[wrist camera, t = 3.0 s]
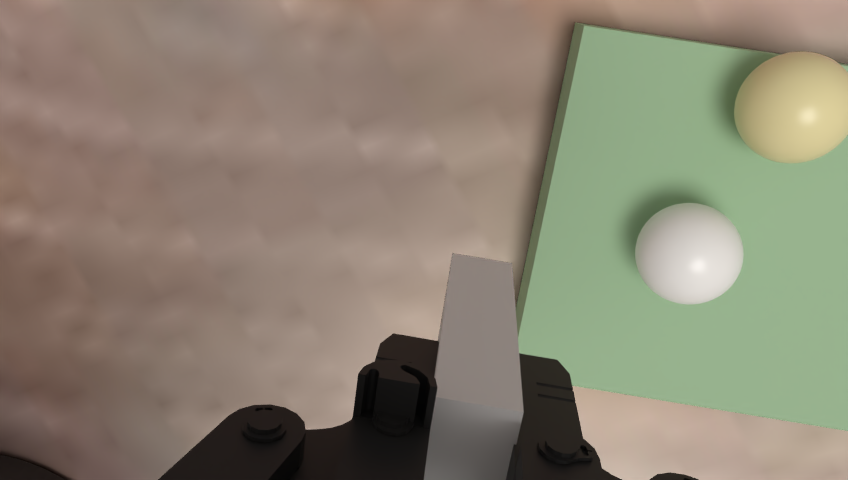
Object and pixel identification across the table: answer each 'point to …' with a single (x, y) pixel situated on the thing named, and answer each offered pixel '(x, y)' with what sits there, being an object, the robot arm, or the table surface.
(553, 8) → the table surface
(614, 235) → the green
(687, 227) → the ball
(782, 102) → the yellow ball
